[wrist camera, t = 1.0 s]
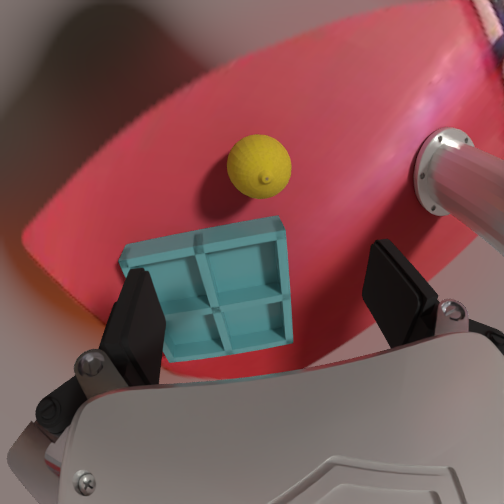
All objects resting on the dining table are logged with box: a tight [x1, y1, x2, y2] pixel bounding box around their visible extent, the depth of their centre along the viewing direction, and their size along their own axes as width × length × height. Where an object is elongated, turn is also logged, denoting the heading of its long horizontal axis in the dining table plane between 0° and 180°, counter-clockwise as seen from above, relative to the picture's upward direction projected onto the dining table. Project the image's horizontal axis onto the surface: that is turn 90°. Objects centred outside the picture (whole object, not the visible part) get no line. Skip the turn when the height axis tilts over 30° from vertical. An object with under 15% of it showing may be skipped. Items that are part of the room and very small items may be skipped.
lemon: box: [227, 134, 291, 199], centre depth 24 cm, size 6×6×8 cm
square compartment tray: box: [118, 216, 293, 363], centre depth 34 cm, size 18×18×4 cm
